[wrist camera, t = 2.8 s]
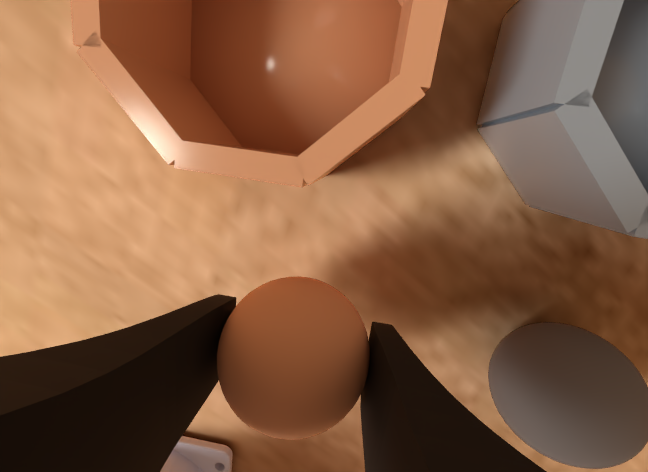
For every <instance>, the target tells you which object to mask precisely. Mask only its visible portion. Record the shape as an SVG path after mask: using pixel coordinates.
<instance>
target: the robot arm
mask: <svg viewBox="0 0 648 472" xmlns="http://www.w3.org/2000/svg"><path fill="white" fill-rule="evenodd" d="M235 307H236V297H230V296H225V295H219V294H218V295H214V296H211V297H208V298H205V299H203V300H200V301H198V302H195V303H193V304H190V305H187V306H185V307H182V308H180V309H177V310H175V311H172V312H170V313H167V314H164V315H162V316H159V317H156V318H153V319H150V320H148V321H145V322H142V323H139V324H136V325H133V326H131V327H128V328H124V329H121V330H118V331H115V332H111V333H108V334H104V335H101V336H97V337H93V338H89V339H86V340H82V341H78V342H73V343H69V344H64V345H59V346H55V347H50V348H45V349H40V350H36V351H31V352H26V353H21V354H15V355H9V356H3V357H0V472H231V471H232V458H233V453H232V450H231V449H230V448H229V447H228V446H226V445H223V444H218V443H213V442H209V441H204V440H199V439H195V438H190V437H186V436H182V435H183V434H184V432H185V431H186V429H187V428H188V426H189V425H190V423H191V422H192V420H193V419H194V417H195V416H196V414H197V413H198V411H199V410H200V408H201V407H202V405H203V404H204V402H205V401H206V399H207V398H208V396H209V394H210V393H211V391H212V390H213V388H214V387H215V385H216V384H217V382H218V380H219V378H218V372H217V351H218V345H219V340H220V336H221V333H222V330H223V328H224V325H225V323H226V321H227V319H228V317H229V316H230V314H231V313H232V311H233V310H234V308H235ZM368 342H369V348H370V362H369V370H368V375H367V378H366V382H365V386H364V388H363V390H362V392H361V407H360V408H361V422H362V435H363V448H364V460H365V472H546V471H545V470H543V469H542V468H541V467H539V466H538V465H536V464H535V463H534V462H532V461H531V460H530V459H528V458H527V457H525V456H524V455H523V454H521V453H520V452H519V451H517V450H516V449H515V448H514V447H512V446H511V445H510V444H508V443H507V442H506V441H505V440H503V439H502V438H501V437H499V436H498V435H497V434H496V433H494V432H493V431H492V430H491V429H489V428H488V427H487V426H486V425H485V424H483V423H482V422H481V421H480V420H479V419H478V418H476V417H475V416H474V415H473V414H472V413H471V412H470V411H469V410H468V409H467V408H465V407H464V406H463V405H462V404H461V403H460V402H459V401H458V400H457V399H456V398H455V397H454V396H453V395H452V394H451V393H449V392H448V391H447V389H446V388H445V387H444V386H443V385H442V384H441V383H440V382H439V381H438V380H437V379H436V378H435V377H434V376H433V375H432V374H431V372H430V371H429V370H428V369H427V368H426V367H425V366H424V365H423V363H422V362H421V361H420V360H419V359H418V357H417V356H416V355H415V354H414V353H413V351H412V350H411V349H410V348H409V346H408V345H407V344H406V343H405V341H404V340H403V339H402V337H401V336H400V335H399V333H398V332H397V331H396V330H395V328H394V327H393V326H392V325H389V324H383V323H377V322H372V326H371V331H370V336H369V341H368Z"/></svg>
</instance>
